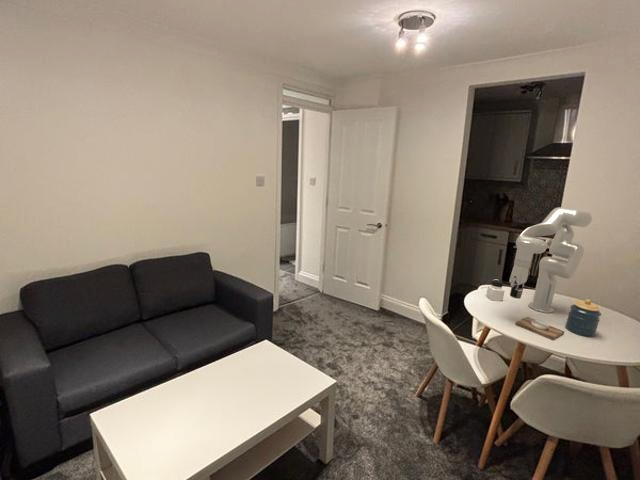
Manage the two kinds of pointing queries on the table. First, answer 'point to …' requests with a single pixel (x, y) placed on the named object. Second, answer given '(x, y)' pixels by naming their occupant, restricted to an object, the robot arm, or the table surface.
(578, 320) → the canister
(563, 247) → the robot arm
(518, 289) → the camera lens
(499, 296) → the medicine bottle
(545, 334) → the board
